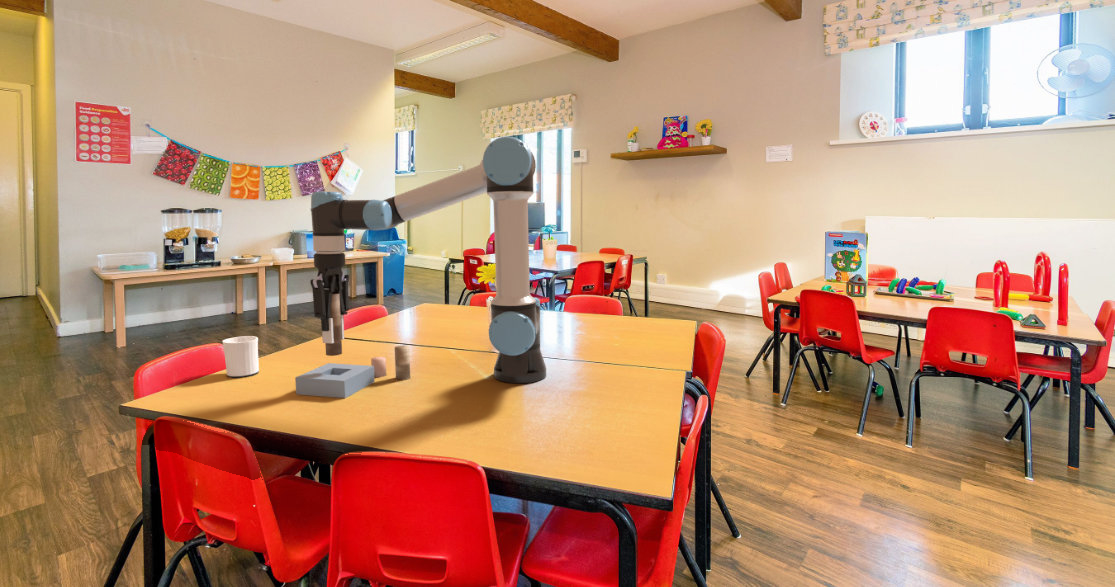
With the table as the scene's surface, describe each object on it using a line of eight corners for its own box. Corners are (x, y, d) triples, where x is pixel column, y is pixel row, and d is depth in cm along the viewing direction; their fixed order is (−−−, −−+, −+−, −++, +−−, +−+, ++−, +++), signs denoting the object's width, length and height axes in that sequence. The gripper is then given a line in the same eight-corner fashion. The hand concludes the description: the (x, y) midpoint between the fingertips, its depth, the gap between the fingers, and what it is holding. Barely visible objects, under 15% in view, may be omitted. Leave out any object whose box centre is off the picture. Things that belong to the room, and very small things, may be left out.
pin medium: (412, 376, 156) (411, 345, 155) (406, 380, 152) (405, 349, 151) (400, 375, 157) (398, 345, 155) (393, 379, 153) (391, 348, 152)
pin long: (345, 352, 146) (342, 293, 143) (336, 356, 142) (333, 295, 139) (331, 351, 146) (328, 292, 144) (322, 355, 142) (319, 295, 140)
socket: (374, 381, 151) (373, 366, 150) (345, 398, 137) (344, 380, 136) (329, 378, 153) (328, 363, 153) (296, 394, 140) (295, 377, 139)
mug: (266, 372, 159) (264, 338, 157) (235, 380, 151) (232, 344, 150) (246, 367, 165) (244, 334, 163) (215, 374, 157) (212, 339, 156)
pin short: (389, 373, 158) (388, 357, 158) (382, 377, 155) (381, 360, 154) (376, 373, 159) (375, 356, 159) (369, 376, 155) (368, 359, 155)
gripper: (336, 250, 149) (339, 333, 152) (294, 254, 133) (299, 347, 136) (360, 250, 148) (364, 334, 151) (321, 255, 131) (326, 349, 134)
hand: (333, 340), depth 143 cm, fingers closed on pin long, 4 cm apart
